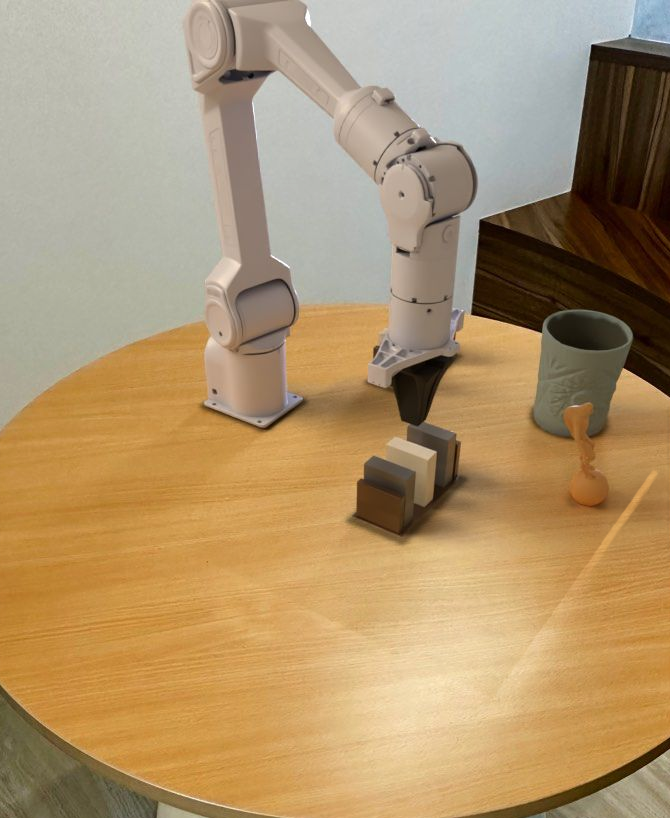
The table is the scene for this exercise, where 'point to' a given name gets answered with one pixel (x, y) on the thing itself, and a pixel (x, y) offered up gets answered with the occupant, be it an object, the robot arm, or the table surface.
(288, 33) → the robot arm
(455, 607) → the table surface
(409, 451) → the white book
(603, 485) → the figurine
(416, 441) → the brown book rack
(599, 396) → the grey green cup
